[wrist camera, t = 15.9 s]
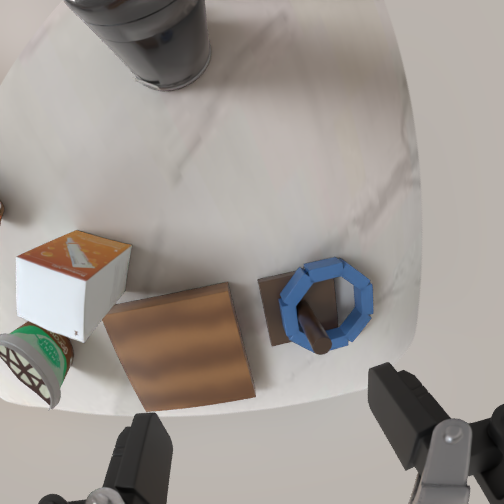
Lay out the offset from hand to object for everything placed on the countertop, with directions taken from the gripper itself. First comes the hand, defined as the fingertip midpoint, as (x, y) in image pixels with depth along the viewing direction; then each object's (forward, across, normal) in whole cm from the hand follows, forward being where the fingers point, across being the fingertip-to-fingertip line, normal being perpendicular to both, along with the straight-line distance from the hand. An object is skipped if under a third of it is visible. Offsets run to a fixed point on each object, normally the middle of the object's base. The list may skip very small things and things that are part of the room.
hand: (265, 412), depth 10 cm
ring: (+25, -9, +9) cm, 28 cm away
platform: (+26, +10, +12) cm, 30 cm away
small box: (+26, +17, -2) cm, 31 cm away
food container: (+26, +29, +7) cm, 40 cm away
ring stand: (+26, -6, +9) cm, 28 cm away
